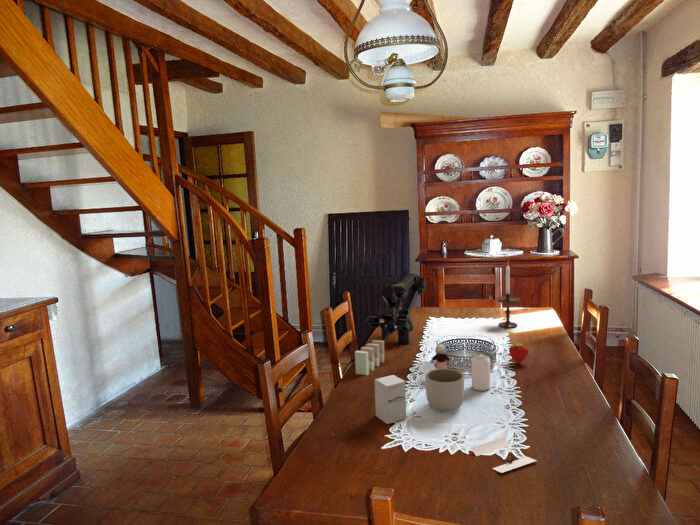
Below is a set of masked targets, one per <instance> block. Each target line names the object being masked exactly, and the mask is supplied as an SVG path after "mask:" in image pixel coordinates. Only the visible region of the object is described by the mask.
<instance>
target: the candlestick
mask: <svg viewBox="0 0 700 525" xmlns="http://www.w3.org/2000/svg"><path fill="white" fill-rule="evenodd" d="M509 262H510V259H508V258H507V261H506V264H507V265H506V267H505V292H504V293H503V294H504V296H499V297H497V298H496V302H498V303H503V304H506V310H505V311H504V313H505V314H506V315H505V318H506V321H503V322H502V321H501V322H499V323H498V327H499V328H502V329H509V330H511V329H516V328H517V327H518V323H516V322H512V321H510V318H511V315H510V314H511V312H512V311H511V310H510V304H515V303H519V302H520V298H519V297H517V296H511V295H512V294H513V293H512V292H511V291H510V290H511V277H510V275H511V272H510V271H511V268H510V266H509Z"/></svg>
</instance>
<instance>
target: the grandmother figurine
mask: <svg viewBox="0 0 700 525" xmlns="http://www.w3.org/2000/svg"><path fill="white" fill-rule="evenodd" d="M445 351H446V346H445V345H444V344H438V346H437V347H436V352H437V354H434V355H433V356H432V358H431V360H430V363H431V364H434V362H435V361H436V369H448V367H447V363H448V365H449V366H451V365H452V360H451V359H450V358H449V356H448V355H447V354H444V353H445Z"/></svg>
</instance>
